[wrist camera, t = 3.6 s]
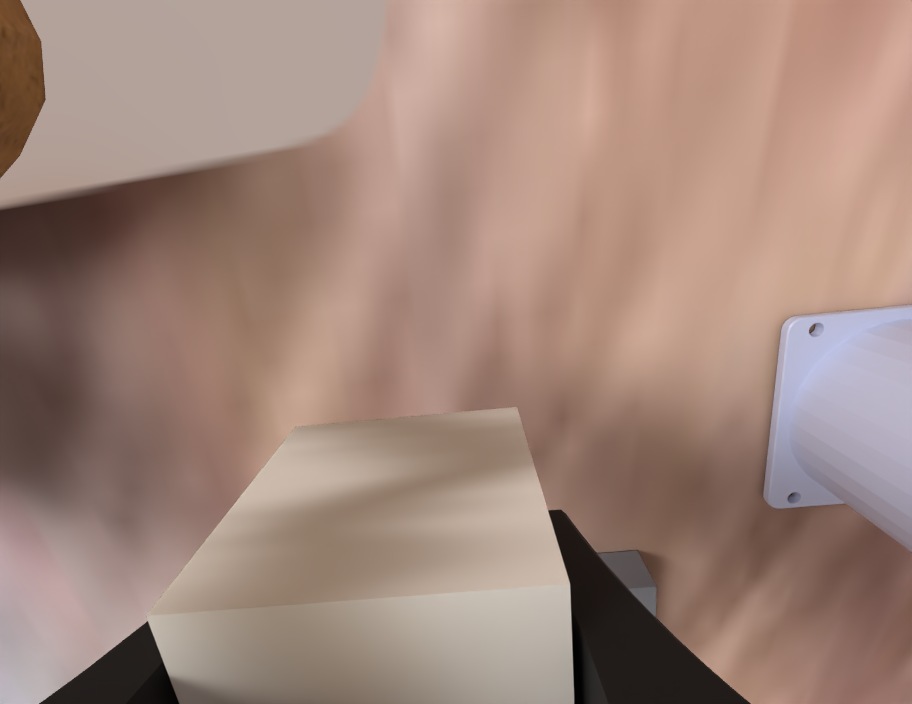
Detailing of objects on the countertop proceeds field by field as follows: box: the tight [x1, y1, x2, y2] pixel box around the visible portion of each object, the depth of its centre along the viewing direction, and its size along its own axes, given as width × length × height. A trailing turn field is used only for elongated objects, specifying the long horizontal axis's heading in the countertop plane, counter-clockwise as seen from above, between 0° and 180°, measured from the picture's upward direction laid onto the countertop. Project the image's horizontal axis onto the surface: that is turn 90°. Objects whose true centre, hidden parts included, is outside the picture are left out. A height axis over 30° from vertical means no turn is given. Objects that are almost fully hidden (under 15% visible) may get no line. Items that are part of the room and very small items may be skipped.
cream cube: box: [146, 407, 574, 704], centre depth 8 cm, size 5×5×5 cm
